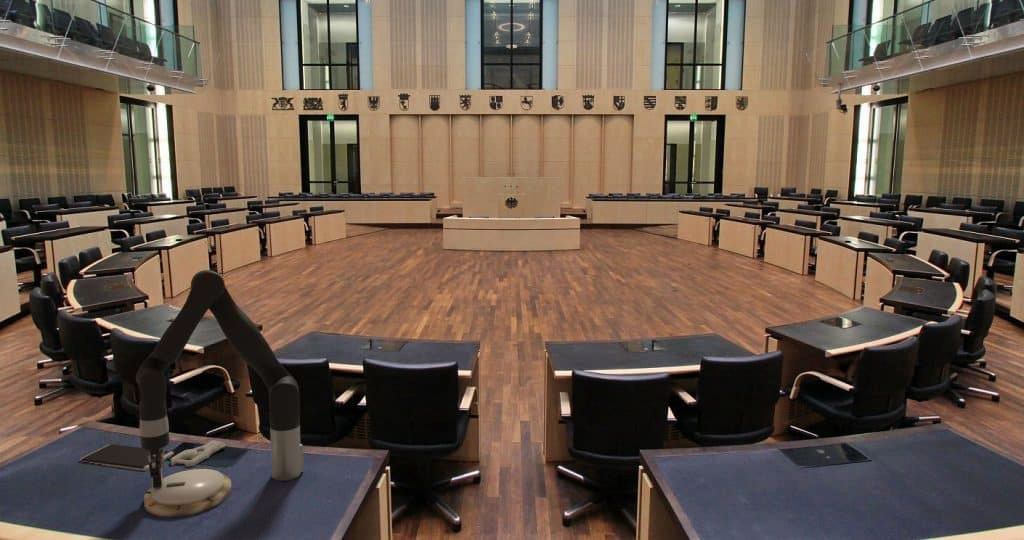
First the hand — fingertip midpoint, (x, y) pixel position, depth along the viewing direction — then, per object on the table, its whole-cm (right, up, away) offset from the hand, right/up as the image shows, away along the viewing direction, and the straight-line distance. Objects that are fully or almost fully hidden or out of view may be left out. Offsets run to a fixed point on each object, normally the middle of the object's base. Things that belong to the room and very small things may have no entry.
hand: (158, 483), depth 191 cm
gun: (-3, -1, +30) cm, 30 cm away
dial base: (+8, -5, +3) cm, 10 cm away
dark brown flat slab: (-26, -1, +27) cm, 38 cm away
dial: (+8, -2, +3) cm, 9 cm away
